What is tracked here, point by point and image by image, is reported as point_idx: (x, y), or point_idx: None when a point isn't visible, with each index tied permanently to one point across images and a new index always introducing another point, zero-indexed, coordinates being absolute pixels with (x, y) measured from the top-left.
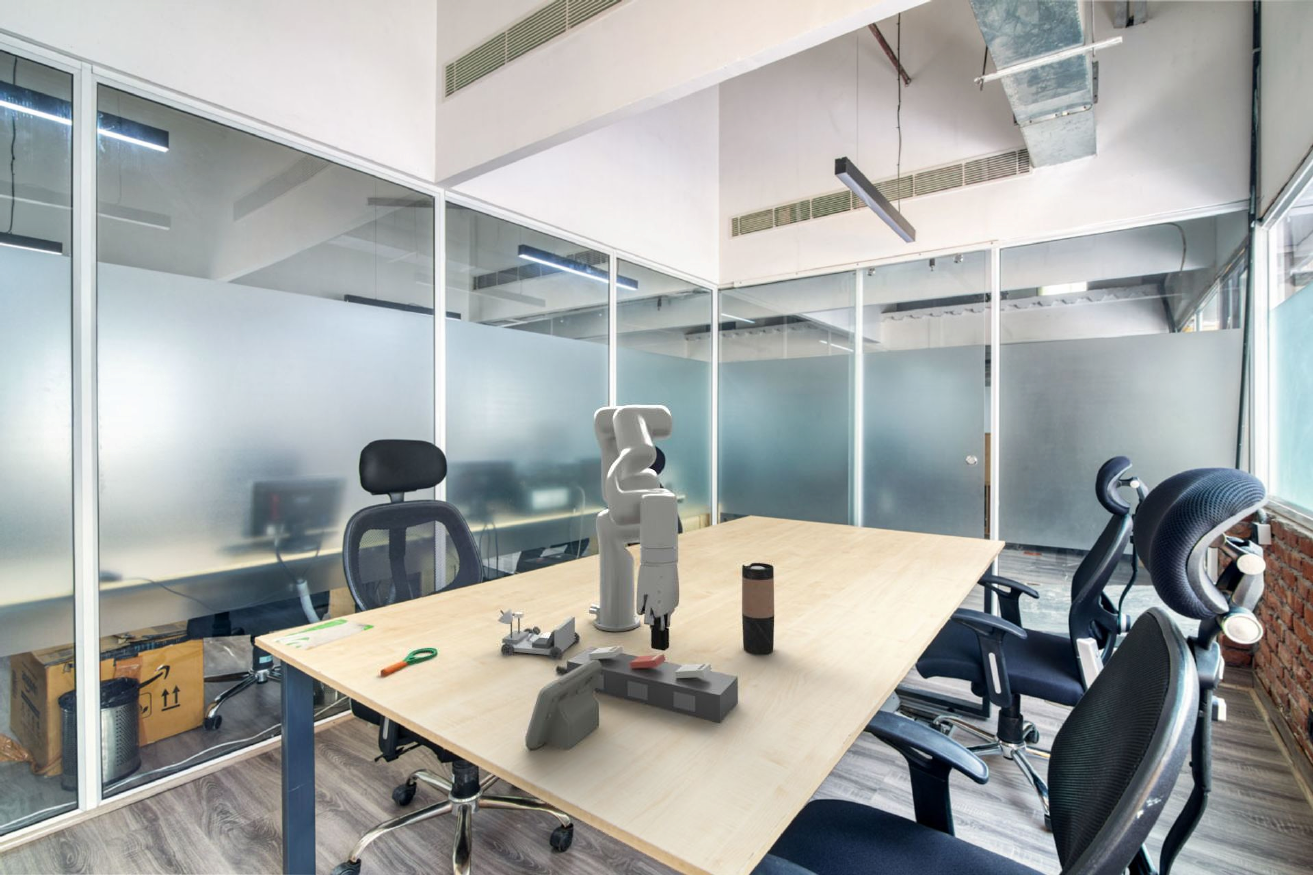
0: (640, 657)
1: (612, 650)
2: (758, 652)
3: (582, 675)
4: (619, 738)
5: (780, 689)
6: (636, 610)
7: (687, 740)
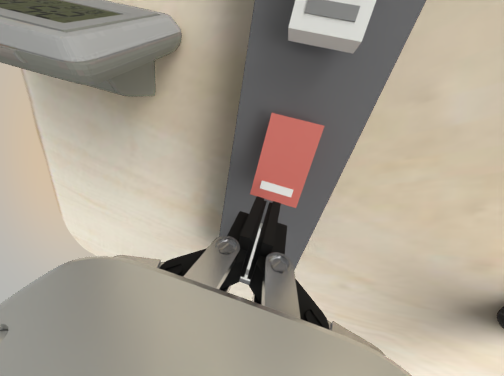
0: (308, 135)
1: (307, 18)
2: (502, 315)
3: (5, 61)
4: (145, 138)
5: (333, 307)
6: (46, 273)
7: (179, 215)
